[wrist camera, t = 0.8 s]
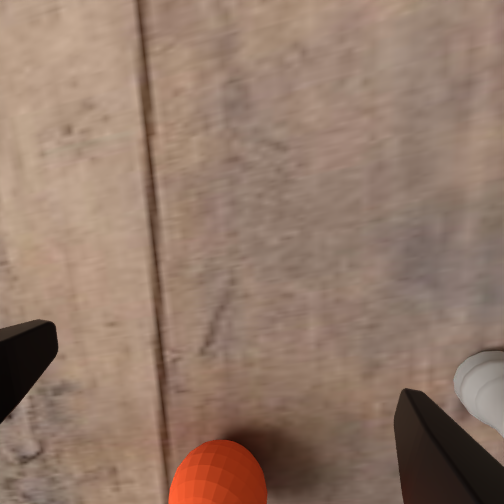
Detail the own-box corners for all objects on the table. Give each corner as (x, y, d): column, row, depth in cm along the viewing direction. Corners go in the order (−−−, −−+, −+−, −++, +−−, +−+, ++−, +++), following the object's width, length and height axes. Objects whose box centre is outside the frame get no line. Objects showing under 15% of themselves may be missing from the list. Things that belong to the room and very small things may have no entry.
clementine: (290, 503, 26) (274, 613, 20) (213, 506, 28) (174, 607, 22) (259, 413, 25) (231, 497, 19) (182, 423, 28) (131, 502, 21)
